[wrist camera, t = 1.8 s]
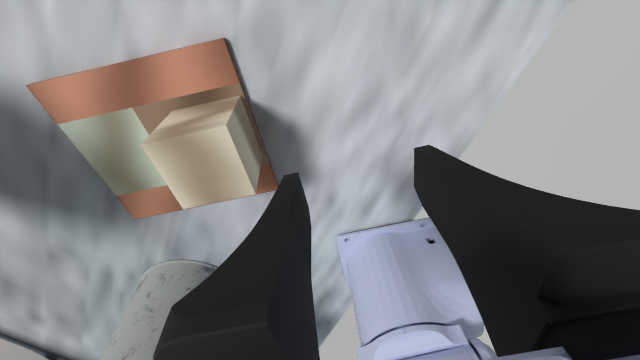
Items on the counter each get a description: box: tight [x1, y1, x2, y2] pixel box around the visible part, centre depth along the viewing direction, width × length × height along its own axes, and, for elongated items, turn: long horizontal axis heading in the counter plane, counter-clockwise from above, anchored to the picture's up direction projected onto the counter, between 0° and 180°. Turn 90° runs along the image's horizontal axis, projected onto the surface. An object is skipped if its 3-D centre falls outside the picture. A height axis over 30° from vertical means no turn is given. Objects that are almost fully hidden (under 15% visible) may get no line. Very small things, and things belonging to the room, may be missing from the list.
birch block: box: [140, 96, 262, 209], centre depth 17 cm, size 4×4×4 cm
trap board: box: [26, 38, 278, 219], centre depth 19 cm, size 12×11×1 cm
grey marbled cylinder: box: [100, 260, 218, 360], centre depth 24 cm, size 10×10×12 cm
